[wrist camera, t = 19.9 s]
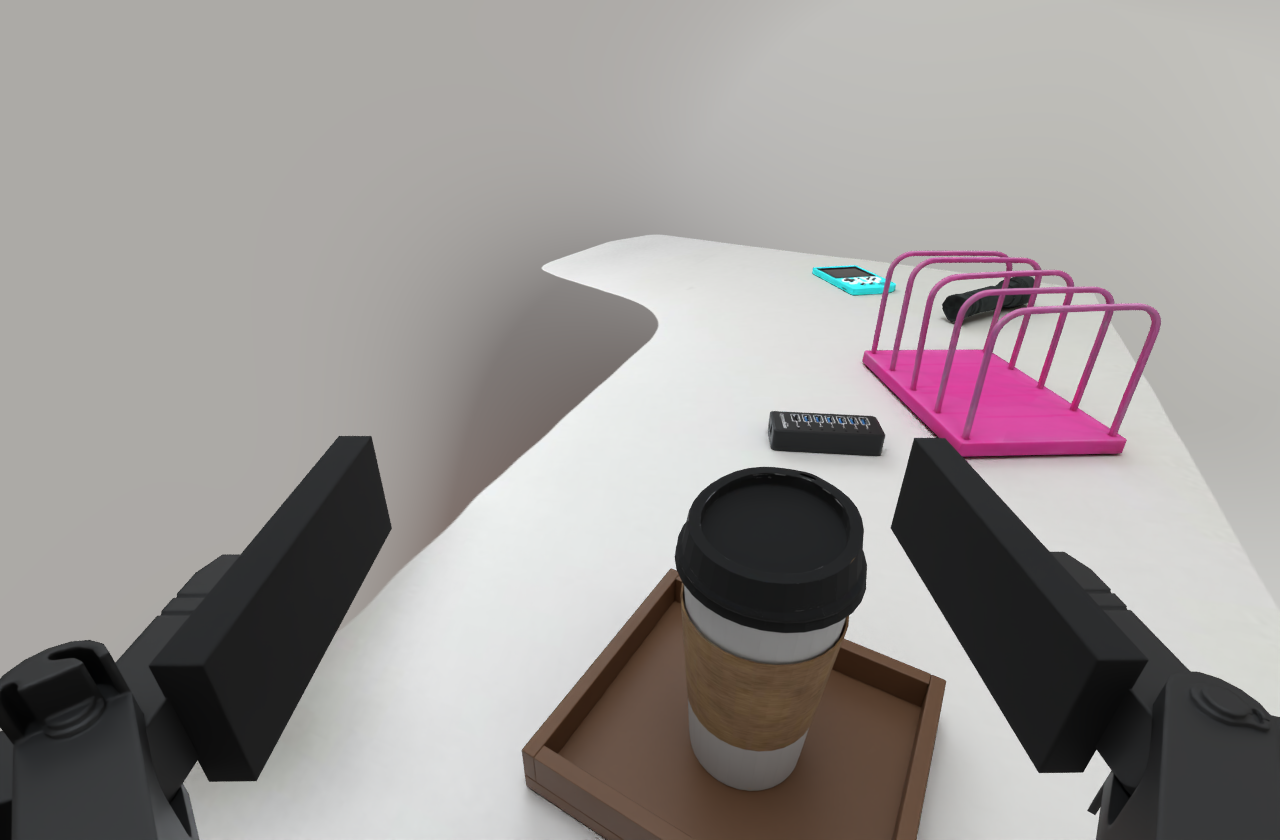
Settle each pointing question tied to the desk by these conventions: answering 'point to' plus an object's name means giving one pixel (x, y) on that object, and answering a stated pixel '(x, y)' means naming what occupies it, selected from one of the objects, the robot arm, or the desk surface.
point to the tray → (691, 797)
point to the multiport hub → (825, 433)
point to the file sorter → (1000, 372)
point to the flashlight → (988, 299)
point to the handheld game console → (853, 279)
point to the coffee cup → (764, 615)
